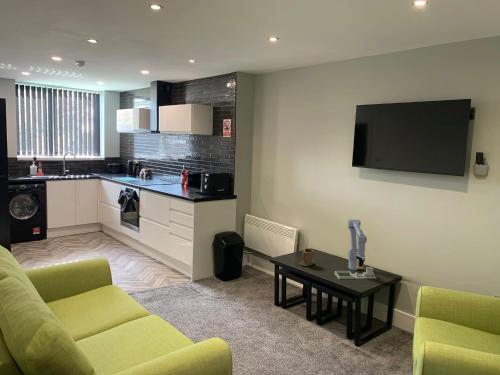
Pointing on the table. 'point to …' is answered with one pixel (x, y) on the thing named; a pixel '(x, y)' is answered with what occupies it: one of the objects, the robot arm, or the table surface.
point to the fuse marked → (359, 266)
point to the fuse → (369, 271)
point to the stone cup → (307, 257)
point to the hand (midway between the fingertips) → (360, 265)
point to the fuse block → (363, 275)
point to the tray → (344, 276)
